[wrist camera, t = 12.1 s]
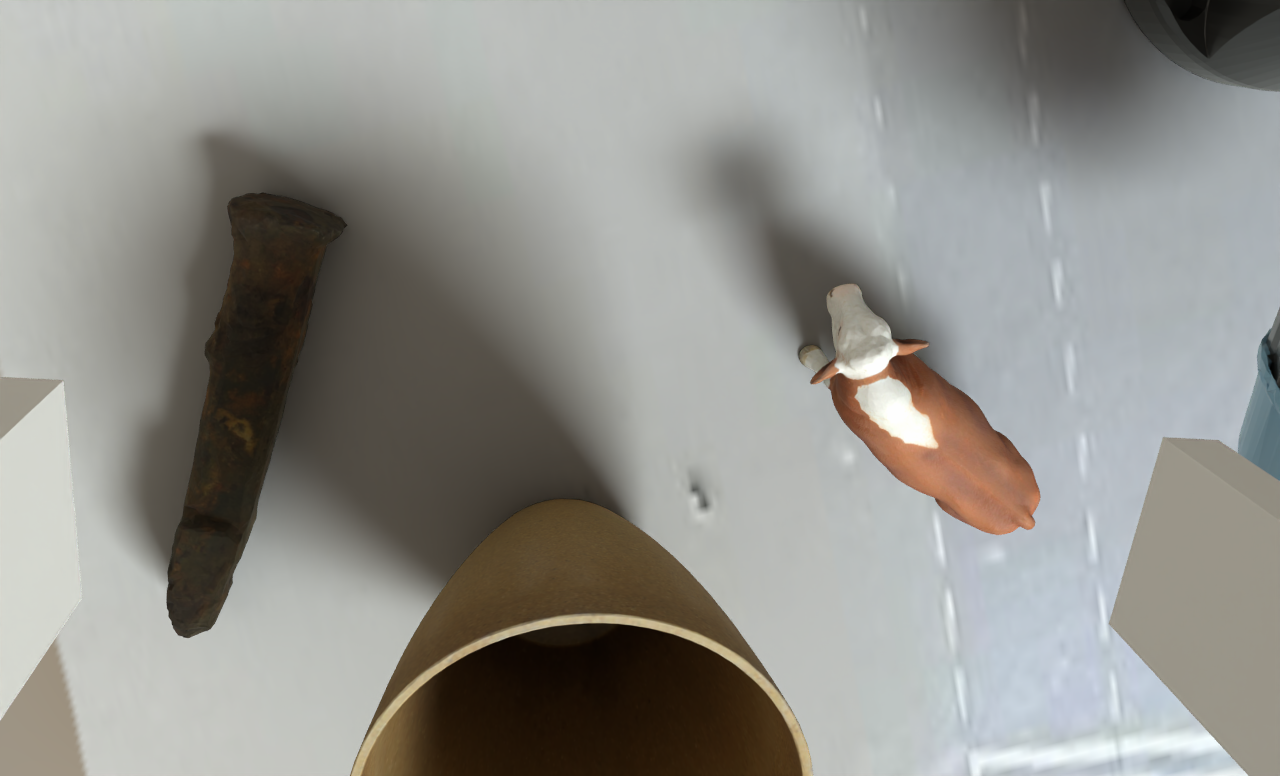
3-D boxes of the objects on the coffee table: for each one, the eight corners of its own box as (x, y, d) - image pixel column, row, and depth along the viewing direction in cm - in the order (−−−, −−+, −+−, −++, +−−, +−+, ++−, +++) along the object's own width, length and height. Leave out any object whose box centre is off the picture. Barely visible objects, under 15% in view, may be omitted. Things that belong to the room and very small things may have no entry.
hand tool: (250, 175, 42) (219, 198, 38) (352, 210, 43) (334, 237, 39) (142, 584, 48) (105, 646, 44) (235, 608, 49) (207, 670, 44)
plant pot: (789, 537, 50) (908, 775, 36) (582, 753, 53) (612, 1056, 39) (535, 346, 46) (550, 528, 31) (324, 595, 49) (245, 871, 34)
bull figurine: (818, 230, 45) (881, 283, 38) (1000, 440, 50) (1090, 524, 42) (739, 302, 46) (785, 368, 38) (926, 502, 51) (1000, 596, 43)
